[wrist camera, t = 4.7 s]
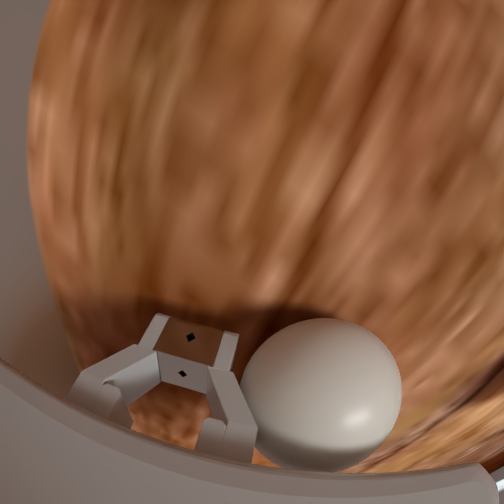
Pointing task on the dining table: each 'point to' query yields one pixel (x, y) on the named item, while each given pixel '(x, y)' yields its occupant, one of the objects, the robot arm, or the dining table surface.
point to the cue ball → (322, 395)
